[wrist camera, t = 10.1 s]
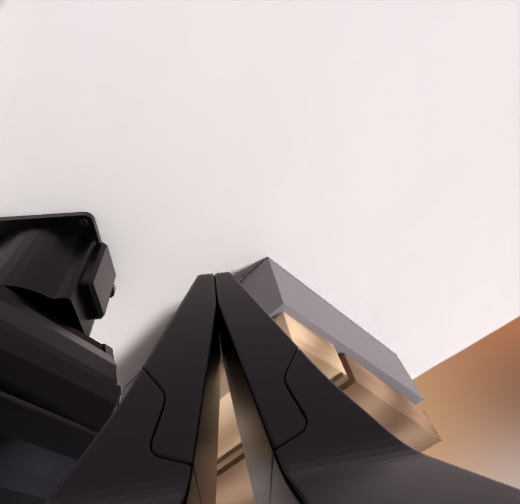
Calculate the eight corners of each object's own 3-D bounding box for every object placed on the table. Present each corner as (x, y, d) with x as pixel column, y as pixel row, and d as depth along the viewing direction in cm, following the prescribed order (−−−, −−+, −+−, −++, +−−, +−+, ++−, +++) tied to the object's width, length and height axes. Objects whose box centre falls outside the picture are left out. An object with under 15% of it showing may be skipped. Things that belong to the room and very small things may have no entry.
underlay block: (123, 388, 30) (113, 445, 26) (268, 256, 25) (283, 303, 21) (269, 441, 40) (278, 489, 36) (396, 354, 34) (423, 399, 30)
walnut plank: (190, 463, 29) (189, 496, 27) (343, 352, 25) (356, 381, 22) (284, 497, 35) (288, 527, 33) (425, 412, 30) (441, 440, 28)
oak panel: (122, 444, 26) (116, 484, 24) (282, 311, 21) (294, 346, 19) (179, 459, 29) (178, 497, 27) (333, 345, 24) (348, 379, 22)
